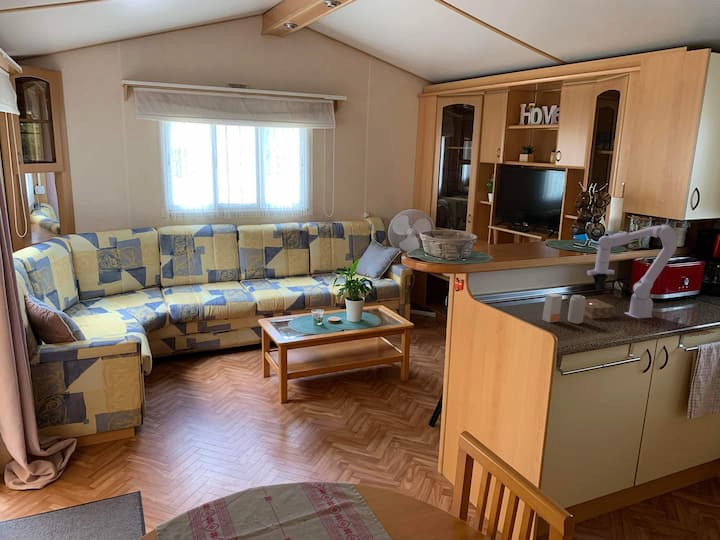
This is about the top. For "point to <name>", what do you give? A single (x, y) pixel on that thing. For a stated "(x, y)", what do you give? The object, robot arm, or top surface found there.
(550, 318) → the skincare box
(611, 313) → the band block
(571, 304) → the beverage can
